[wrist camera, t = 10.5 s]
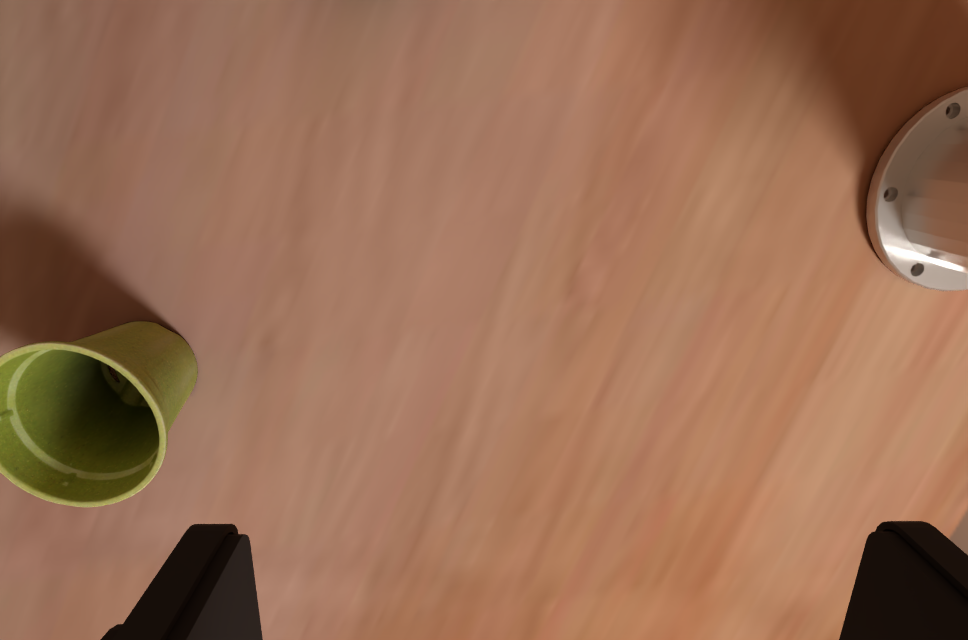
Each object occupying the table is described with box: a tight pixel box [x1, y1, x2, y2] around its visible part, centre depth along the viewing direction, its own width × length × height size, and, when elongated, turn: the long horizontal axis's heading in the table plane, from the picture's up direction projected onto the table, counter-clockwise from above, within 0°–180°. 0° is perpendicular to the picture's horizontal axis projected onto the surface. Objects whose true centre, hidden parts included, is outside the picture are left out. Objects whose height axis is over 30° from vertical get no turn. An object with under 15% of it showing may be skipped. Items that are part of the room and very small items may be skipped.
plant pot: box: [0, 321, 198, 507], centre depth 34 cm, size 9×9×9 cm
